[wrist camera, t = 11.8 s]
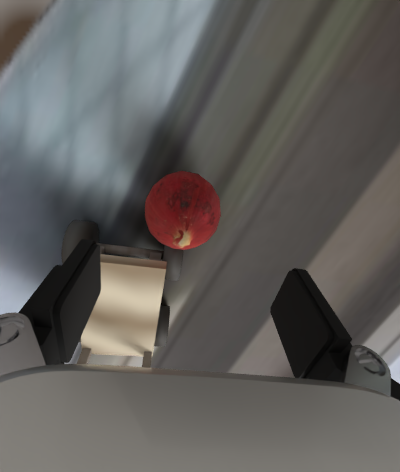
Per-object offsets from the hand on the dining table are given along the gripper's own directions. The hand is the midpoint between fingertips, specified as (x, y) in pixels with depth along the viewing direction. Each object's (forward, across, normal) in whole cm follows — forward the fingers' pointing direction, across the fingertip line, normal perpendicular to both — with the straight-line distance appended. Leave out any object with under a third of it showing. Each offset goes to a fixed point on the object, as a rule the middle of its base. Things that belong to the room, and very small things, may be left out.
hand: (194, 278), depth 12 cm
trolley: (+11, +5, +11) cm, 16 cm away
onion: (+12, +1, 0) cm, 12 cm away
